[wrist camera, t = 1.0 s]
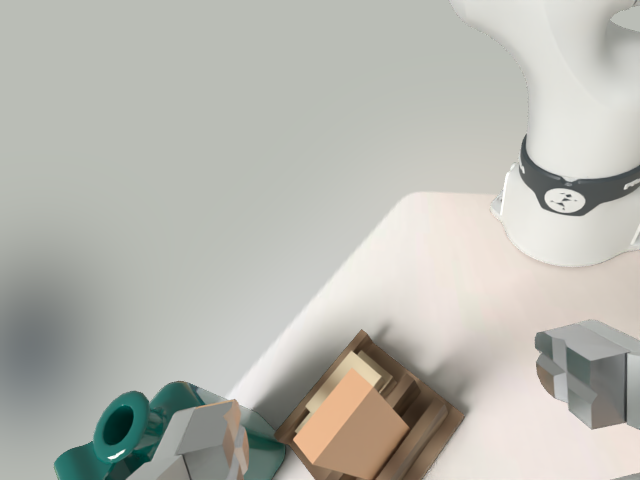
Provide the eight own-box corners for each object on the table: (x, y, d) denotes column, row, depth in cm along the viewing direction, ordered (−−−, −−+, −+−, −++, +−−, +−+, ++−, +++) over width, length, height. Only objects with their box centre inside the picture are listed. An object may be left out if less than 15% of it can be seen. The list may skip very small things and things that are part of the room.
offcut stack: (366, 356, 45) (355, 342, 41) (397, 382, 42) (388, 370, 38) (302, 434, 42) (285, 427, 38) (330, 468, 39) (314, 464, 35)
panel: (401, 422, 39) (351, 367, 24) (416, 435, 38) (373, 386, 23) (367, 467, 38) (292, 439, 23) (382, 483, 36) (312, 464, 22)
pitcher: (252, 406, 48) (133, 351, 32) (293, 448, 43) (177, 409, 27) (202, 473, 45) (44, 451, 29) (241, 527, 40) (74, 538, 24)
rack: (370, 342, 47) (357, 322, 42) (464, 417, 38) (461, 403, 34) (289, 440, 43) (265, 431, 39) (373, 549, 35) (355, 555, 30)
